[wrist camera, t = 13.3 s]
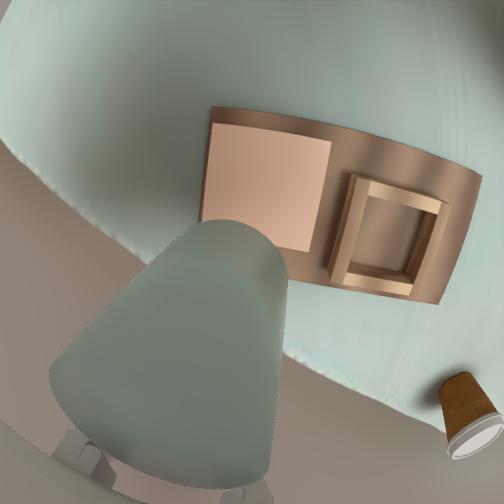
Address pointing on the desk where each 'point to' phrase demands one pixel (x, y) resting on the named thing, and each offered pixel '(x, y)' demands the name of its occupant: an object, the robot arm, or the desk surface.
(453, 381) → the disposable coffee cup
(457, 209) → the walnut board
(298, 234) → the terracotta coaster
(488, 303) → the desk surface
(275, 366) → the pale blue rounded piece
